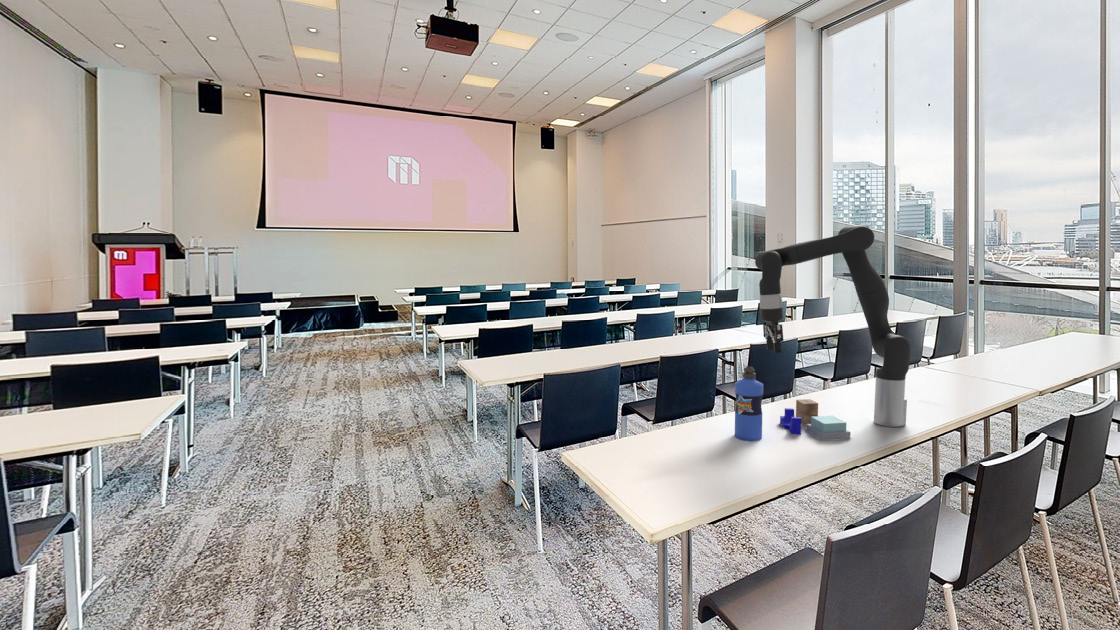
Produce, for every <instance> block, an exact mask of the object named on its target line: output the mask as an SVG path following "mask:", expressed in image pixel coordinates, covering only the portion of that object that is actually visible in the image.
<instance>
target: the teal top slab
mask: <svg viewBox="0 0 1120 630" xmlns="http://www.w3.org/2000/svg"><path fill="white" fill-rule="evenodd" d="M811 425H812V426H814V427H816V428H817V429H819V430H821V431H823V432H838V431H846V430H847V422H846V421H844V420H843V419H840V418H838V417H836V416H834V415H818V416H815V417H811Z"/></svg>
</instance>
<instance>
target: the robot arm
mask: <svg viewBox="0 0 1120 630" xmlns="http://www.w3.org/2000/svg"><path fill="white" fill-rule="evenodd" d="M874 241H875V234H874V231H873V230H872V229H871V228H870V227H868V226H866V225H848V226H844V227H843V228H841V229H840V230H839V232H838V234H837V235H833V236H829V237H824V238H820V239H819V238H818V239H812V240H806V241H803V242H797V243H795V244H789V245H787V246H784V247H781V248H776V249H771V250H765V251H762V252H760V253H759V254H758V255H757V256H756V257H755V260H754V264H755V266H756V268H757V269H758V270H759V271H761V279H760V280H759V283H758V286H759V311H760V314H759V315H760V320H761V321H763V322H762V328H763V329H762V330H763V332H762V333H763V338H765V340H766V341H765V342H766V350H767V351H771V350H773V352H774V354H782V342H784V340H785V339H784V332H783V331H784V330H783V324H780V323H779V321H782V320H783V319H784V310H783V307H784V306H783V299H782V293H781V289H782V288H781V276H782V270H783V269H782V268H783V267H785V266H793V265H798V264H802V263H806V262H809V261H813V260H817V259H820V258H823V257H827V256H831V255H837V254H842V257H843V258H844V260H845V262H846V265H847V268H848V270H849V273H850V276H851V279H852V282H853V286H854V289H855V293H856V295H857V299H858V301H859V303H860V306H861V308H862V309H861V310H862V313H863V314H864V315H863V316H864V318H865V321H866V324H867V327H868V332H869V336H870V341H871V346H872V349H873V351H874V353H875V354H876V355H877V356H879V357H881V358H883V363H882V367H879V368H877V369H876V370H875V387H874V388H875V391H874V392H875V393H874V410H873V422H874V423H875V424H877V425H880V426H884V427H888V428H889V427H890V428H900V427H903V426H906V425H907V407H908V400H907V398H905V394H906V377H907V373H908V371H909V368H910V360H911V344H910V341H909V340H908V339H907V338H906V337H904V336H903V335H898V334H895V333H893V331H892V328H891V326H890V324H889V320H888V313H889V308H890V307H889V305H890V296H889V292H888V290H887V288H886V284H885V282H884V279H883V278H882V276H881V275H880V274H879V273H878V271H877V270H876V268H874V266H873V264H872V263H871V261H870V260H869V258H868V256H867V252H866V250H867V249H869V248H870V247H871V246H872V245H873V244H874Z"/></svg>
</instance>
